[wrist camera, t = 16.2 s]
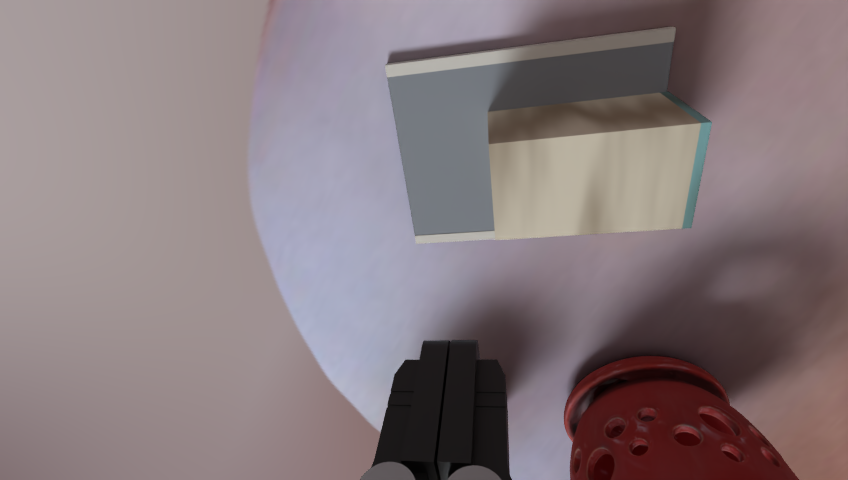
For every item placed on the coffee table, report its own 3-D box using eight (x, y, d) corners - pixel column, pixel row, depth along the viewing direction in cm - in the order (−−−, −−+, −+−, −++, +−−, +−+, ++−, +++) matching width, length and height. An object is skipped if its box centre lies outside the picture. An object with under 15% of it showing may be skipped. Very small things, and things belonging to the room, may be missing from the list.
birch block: (487, 111, 24) (668, 91, 22) (493, 195, 26) (655, 182, 25) (488, 144, 20) (711, 122, 18) (495, 240, 22) (691, 227, 21)
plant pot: (686, 458, 38) (760, 638, 28) (535, 429, 38) (554, 598, 28) (772, 353, 31) (914, 542, 21) (586, 318, 31) (636, 490, 21)
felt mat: (671, 26, 21) (676, 28, 21) (644, 225, 27) (647, 230, 26) (386, 63, 23) (385, 65, 23) (417, 239, 29) (416, 243, 29)
